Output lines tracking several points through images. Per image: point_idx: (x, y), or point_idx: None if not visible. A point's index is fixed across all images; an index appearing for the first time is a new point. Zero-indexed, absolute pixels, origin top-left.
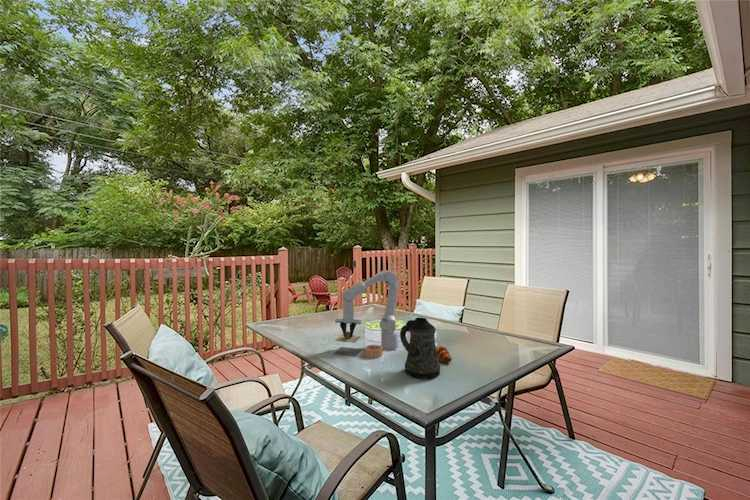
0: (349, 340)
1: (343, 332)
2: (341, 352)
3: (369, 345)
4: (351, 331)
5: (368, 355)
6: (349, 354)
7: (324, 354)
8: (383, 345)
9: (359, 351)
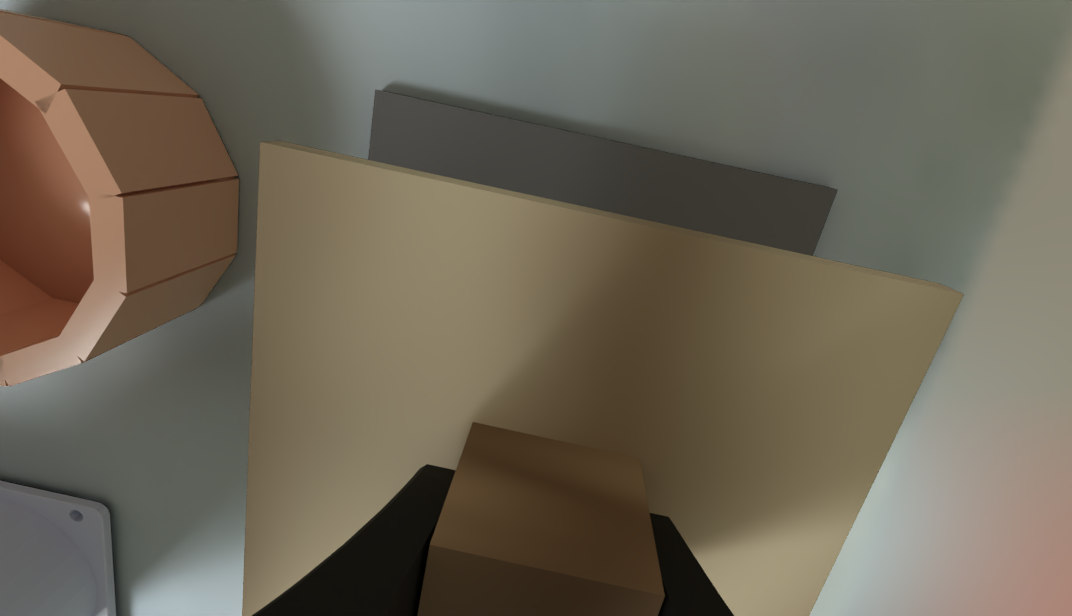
0: (458, 263)
1: None
2: None
3: (74, 342)
4: (317, 594)
5: (105, 45)
6: None
7: (989, 212)
8: (4, 540)
9: None
